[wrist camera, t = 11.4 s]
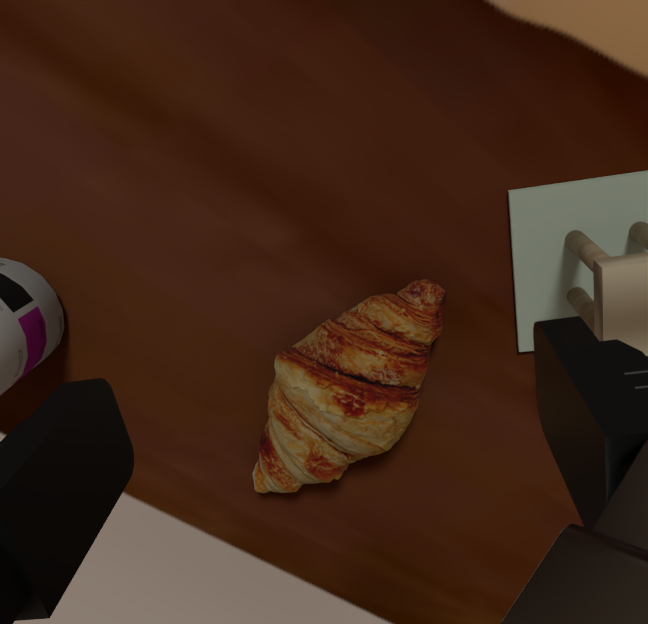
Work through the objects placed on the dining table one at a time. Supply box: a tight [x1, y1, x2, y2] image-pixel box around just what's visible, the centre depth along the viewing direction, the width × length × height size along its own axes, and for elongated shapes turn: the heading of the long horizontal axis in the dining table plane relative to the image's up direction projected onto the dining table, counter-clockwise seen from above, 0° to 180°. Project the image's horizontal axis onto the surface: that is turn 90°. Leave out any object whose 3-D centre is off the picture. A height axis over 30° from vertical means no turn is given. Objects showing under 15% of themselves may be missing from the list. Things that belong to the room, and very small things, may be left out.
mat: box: [508, 171, 648, 352], centre depth 39 cm, size 11×11×1 cm
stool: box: [565, 221, 648, 356], centre depth 35 cm, size 5×5×8 cm
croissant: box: [253, 279, 447, 493], centre depth 42 cm, size 21×10×8 cm, turn 146°
